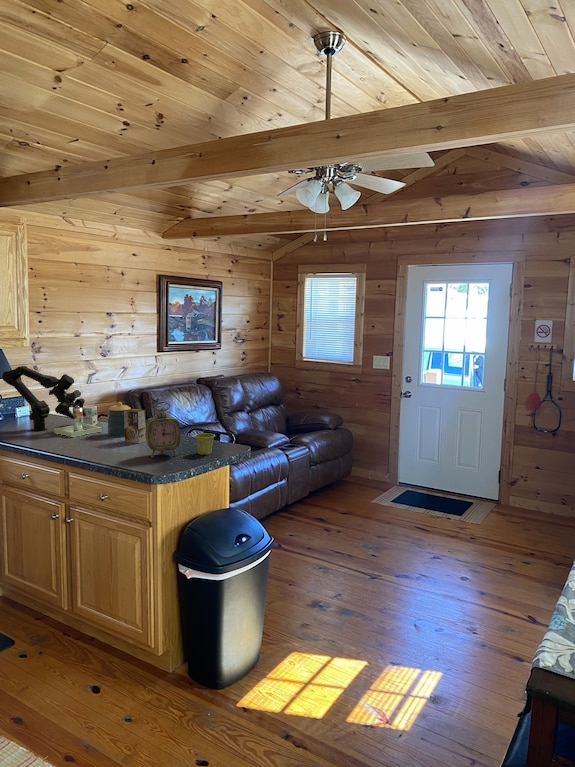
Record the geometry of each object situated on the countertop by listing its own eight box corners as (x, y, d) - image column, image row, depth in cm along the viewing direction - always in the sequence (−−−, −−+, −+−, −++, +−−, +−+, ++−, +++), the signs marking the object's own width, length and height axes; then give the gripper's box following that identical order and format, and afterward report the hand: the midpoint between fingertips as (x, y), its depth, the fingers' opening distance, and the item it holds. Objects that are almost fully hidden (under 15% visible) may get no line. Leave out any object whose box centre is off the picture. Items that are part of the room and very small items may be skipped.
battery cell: (72, 432, 307) (71, 407, 305) (75, 430, 312) (74, 405, 310) (81, 432, 307) (81, 407, 305) (84, 430, 312) (83, 405, 310)
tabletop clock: (148, 459, 258) (147, 404, 255) (145, 454, 266) (144, 401, 263) (180, 456, 264) (180, 402, 261) (176, 451, 272) (175, 399, 269)
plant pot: (205, 450, 276) (205, 432, 275) (219, 453, 270) (219, 435, 269) (190, 453, 269) (190, 435, 268) (204, 457, 263) (204, 438, 262)
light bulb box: (97, 424, 333) (97, 405, 332) (92, 426, 327) (92, 407, 325) (80, 423, 334) (79, 405, 333) (74, 426, 328) (74, 407, 326)
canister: (102, 435, 304) (101, 402, 301) (118, 431, 316) (117, 399, 313) (122, 438, 299) (121, 404, 297) (137, 433, 311) (137, 401, 309)
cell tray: (54, 433, 307) (54, 428, 307) (84, 428, 322) (84, 423, 321) (71, 437, 298) (71, 432, 297) (101, 432, 312) (101, 427, 312)
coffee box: (147, 441, 293) (146, 409, 291) (138, 443, 287) (138, 411, 285) (132, 439, 297) (132, 408, 295) (124, 441, 291) (123, 410, 289)
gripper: (58, 387, 299) (77, 410, 297) (81, 383, 316) (99, 404, 315) (46, 402, 302) (65, 424, 300) (69, 397, 320) (87, 417, 318)
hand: (80, 417), depth 308 cm, fingers open, 9 cm apart
